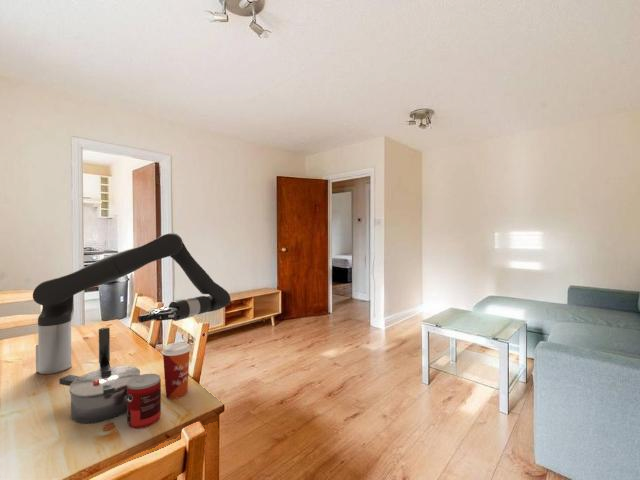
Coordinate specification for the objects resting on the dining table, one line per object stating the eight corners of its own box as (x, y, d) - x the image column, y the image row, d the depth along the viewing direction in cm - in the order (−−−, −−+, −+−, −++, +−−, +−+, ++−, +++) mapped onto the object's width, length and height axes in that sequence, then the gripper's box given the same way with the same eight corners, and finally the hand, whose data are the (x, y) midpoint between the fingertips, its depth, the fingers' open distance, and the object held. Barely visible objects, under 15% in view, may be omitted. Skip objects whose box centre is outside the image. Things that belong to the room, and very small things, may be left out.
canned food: (136, 412, 86) (135, 373, 85) (165, 411, 86) (165, 372, 86) (120, 430, 78) (120, 387, 78) (153, 428, 79) (153, 386, 78)
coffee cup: (179, 402, 91) (179, 352, 91) (155, 399, 93) (155, 349, 92) (196, 388, 99) (196, 342, 99) (174, 385, 101) (174, 340, 101)
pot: (161, 397, 93) (161, 375, 93) (114, 430, 78) (114, 403, 78) (90, 386, 100) (90, 365, 100) (34, 414, 85) (33, 389, 84)
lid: (145, 387, 85) (145, 342, 85) (67, 408, 75) (67, 357, 74) (134, 360, 103) (134, 323, 103) (70, 373, 93) (70, 332, 93)
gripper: (195, 320, 117) (149, 333, 102) (175, 315, 124) (129, 327, 109) (195, 301, 116) (149, 310, 102) (174, 297, 124) (129, 306, 109)
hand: (139, 319), depth 105 cm, fingers closed
